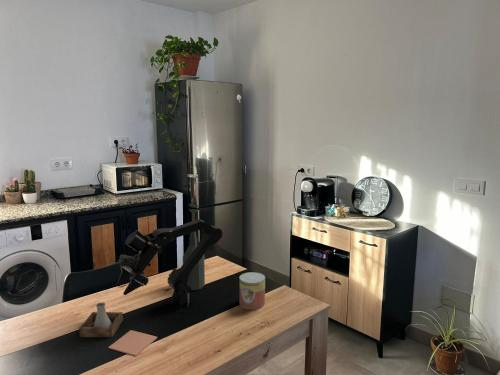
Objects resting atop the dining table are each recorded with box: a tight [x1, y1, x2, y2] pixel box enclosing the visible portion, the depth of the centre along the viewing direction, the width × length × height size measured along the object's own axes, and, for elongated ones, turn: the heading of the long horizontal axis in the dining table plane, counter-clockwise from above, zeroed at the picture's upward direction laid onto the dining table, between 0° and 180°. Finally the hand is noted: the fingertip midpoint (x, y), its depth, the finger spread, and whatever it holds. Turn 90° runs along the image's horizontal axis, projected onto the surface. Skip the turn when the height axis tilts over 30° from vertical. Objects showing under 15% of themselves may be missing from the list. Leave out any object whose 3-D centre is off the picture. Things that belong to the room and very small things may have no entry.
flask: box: [92, 302, 113, 327], centre depth 145 cm, size 7×7×10 cm
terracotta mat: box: [107, 329, 158, 357], centre depth 137 cm, size 12×12×1 cm
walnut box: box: [78, 311, 124, 338], centre depth 146 cm, size 12×12×4 cm
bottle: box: [182, 231, 206, 291], centre depth 181 cm, size 10×10×30 cm
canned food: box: [238, 271, 266, 310], centre depth 166 cm, size 11×11×12 cm
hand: (120, 290), depth 149 cm, fingers open, 9 cm apart
